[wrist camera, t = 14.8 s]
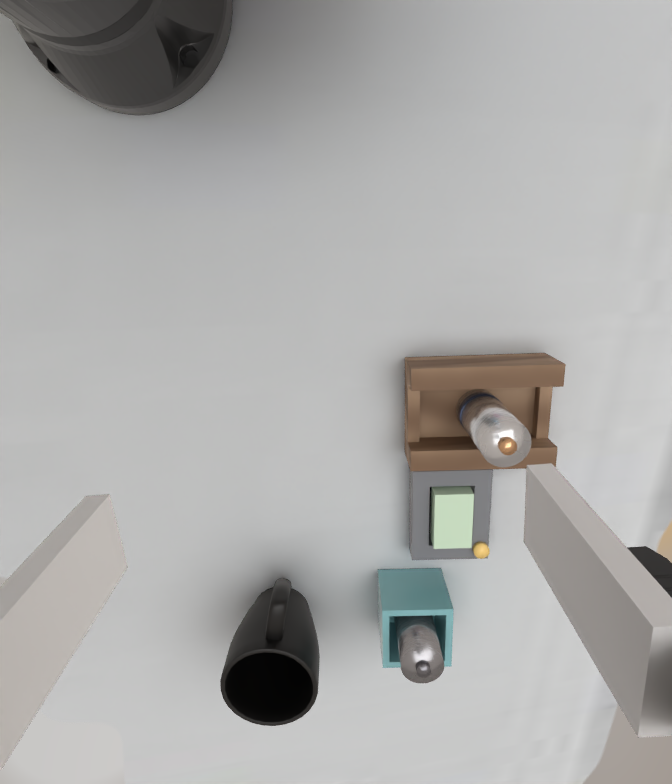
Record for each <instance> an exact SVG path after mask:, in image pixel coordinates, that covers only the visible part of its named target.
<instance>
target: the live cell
mask: <svg viewBox="0 0 672 784" xmlns="http://www.w3.org/2000/svg"><path fill="white" fill-rule="evenodd" d="M456 415H457V418H458V420H459V422H460V423H461V425H462V427H463V428H464V429H465V431H466V432H467V433H468V434H469V436H470V437H471V439H472V440H473V442H474V443H475V445H476V446H477V448H478V449H479V451H480V452H481V454H482V455H483V457H484V458H485V459H486V460H487V461H488V462H489V463H490V464H492V465H494V466H497V467H510V466H514V465H516V464H518V463H520V462H521V461H522V460H523V459H524V458H525V457H526V456H527V455H528V453H529V451H530V448H531V436H530V433H529V431H528V430H527V428H526V427H525V426H524V425H523V424H522V423H521V422H520V421H519V420H518V419H517V418H516V417H515V416H514V415H513V414H512V413H511V412H510V411H509V410H508V409H507V408H506V407H505V406H504V405H503V404H502V403H501V402H500V401H499V400H498V399H497V398H496V397H495V396H494V395H492V394H491V393H490V392H488V391H486V390H483V389H474V390H470V391H468V392H466V393H465V394H464V395H462V397H461V398H460V399H459V401H458V403H457V406H456Z"/></svg>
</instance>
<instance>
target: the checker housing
mask: <svg viewBox="0 0 672 784" xmlns="http://www.w3.org/2000/svg"><path fill="white" fill-rule="evenodd" d="M492 473H493V469H482V470H445V471H410V533H409V548H410V553H411V557H412V560H435V559H477V558H480V559H482V558H488V555H489V548H488V543H489V525H490V508H491V491H492ZM441 486H470V487H471V489H472V491H473V493H474V507H473V528H472V548H451V549H434V548H433V545H432V541H431V538H430V534H429V497H430V487H441Z"/></svg>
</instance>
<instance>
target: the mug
mask: <svg viewBox="0 0 672 784" xmlns="http://www.w3.org/2000/svg"><path fill="white" fill-rule="evenodd" d="M318 679H319V646H318V640H317V635H316V630H315V626H314V622H313V619H312V616H311V613H310V610H309V606H308V603H307V601H306V599H305V598H304V597H303V596H302V595H301V594H300V593H299V592H298V591H296V590H294V589H291V582H290V581H289V580H287V579H278V580H277V581H276V582H275V585H274V588H271V589H268V590H266V591H265V592H263V593H262V594H261V595H260V596H259V597H258V598H257V600H256V602H255V603H254V604H253V606H252V607H251V608H250V610H249V611H248V613H247V614H246V616H245V617H244V619H243V621H242V622H241V624H240V626H239V627H238V629H237V631H236V633H235V635H234V637H233V640H232V642H231V645H230V648H229V651H228V655H227V658H226V662H225V666H224V669H223V673H222V677H221V692H222V695H223V699H224V700H225V702H226V704H227V705H228V707H229V708H230V709H231V710H232V711H233V712H234V713H235V714H237V715H238V716H240V717H241V718H243V719H245V720H247V721H250V722H252V723H255V724H260V725H269V726H276V725H283V724H287V723H290V722H293V721H295V720H297V719H299V718H301V717H302V716H303V715H305V714H306V713H307V712H308V711H309V710H310V709H311V707H312V706H313V704H314V702H315V700H316V697H317V694H318Z"/></svg>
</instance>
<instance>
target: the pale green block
mask: <svg viewBox="0 0 672 784" xmlns="http://www.w3.org/2000/svg"><path fill="white" fill-rule="evenodd" d="M473 507H474V493H473V491H472V489H471V487H470V486H441V487H431V533H430V538H431V541H432V545H433V548H434V549H451V548H472V528H473Z"/></svg>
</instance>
